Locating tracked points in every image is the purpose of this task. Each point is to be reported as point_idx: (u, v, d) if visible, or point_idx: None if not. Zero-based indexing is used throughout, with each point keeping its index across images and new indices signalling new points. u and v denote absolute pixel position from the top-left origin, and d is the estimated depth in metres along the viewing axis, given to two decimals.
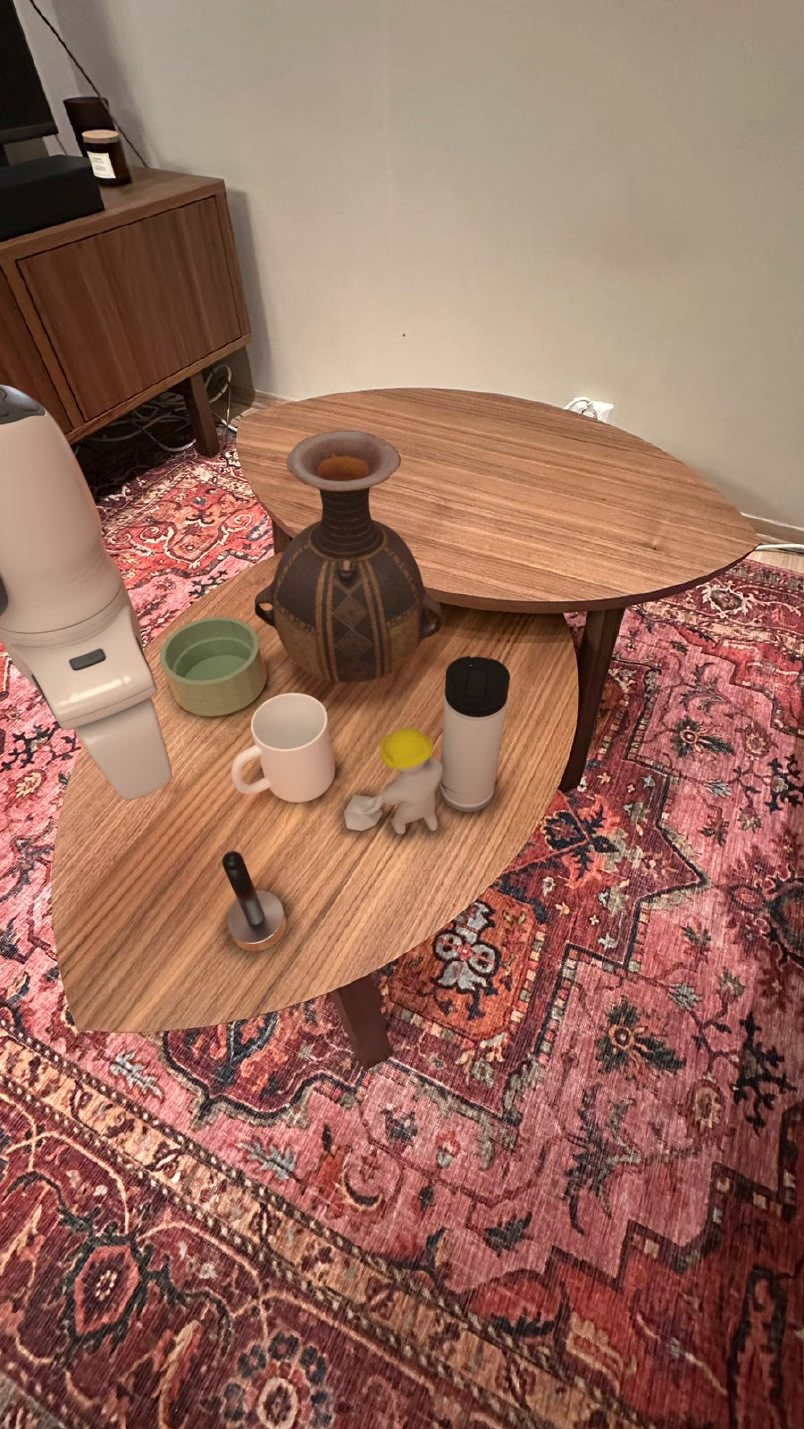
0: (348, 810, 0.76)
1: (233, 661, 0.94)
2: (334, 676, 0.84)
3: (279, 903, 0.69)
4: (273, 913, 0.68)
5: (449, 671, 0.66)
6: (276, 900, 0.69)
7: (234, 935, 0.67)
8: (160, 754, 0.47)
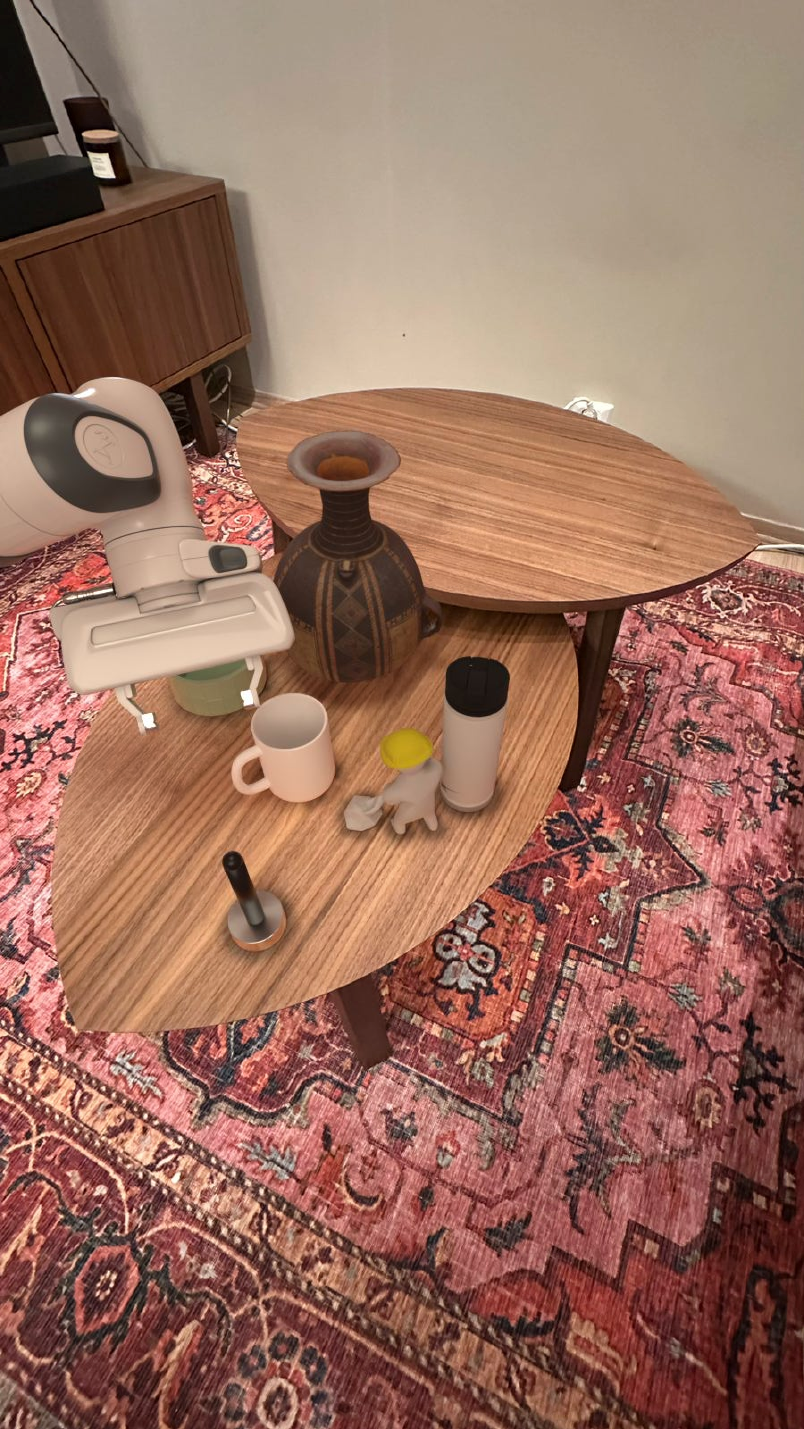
0: (348, 810, 0.76)
1: None
2: (334, 676, 0.84)
3: (279, 903, 0.69)
4: (273, 913, 0.68)
5: (449, 671, 0.66)
6: (276, 900, 0.69)
7: (234, 935, 0.67)
8: None
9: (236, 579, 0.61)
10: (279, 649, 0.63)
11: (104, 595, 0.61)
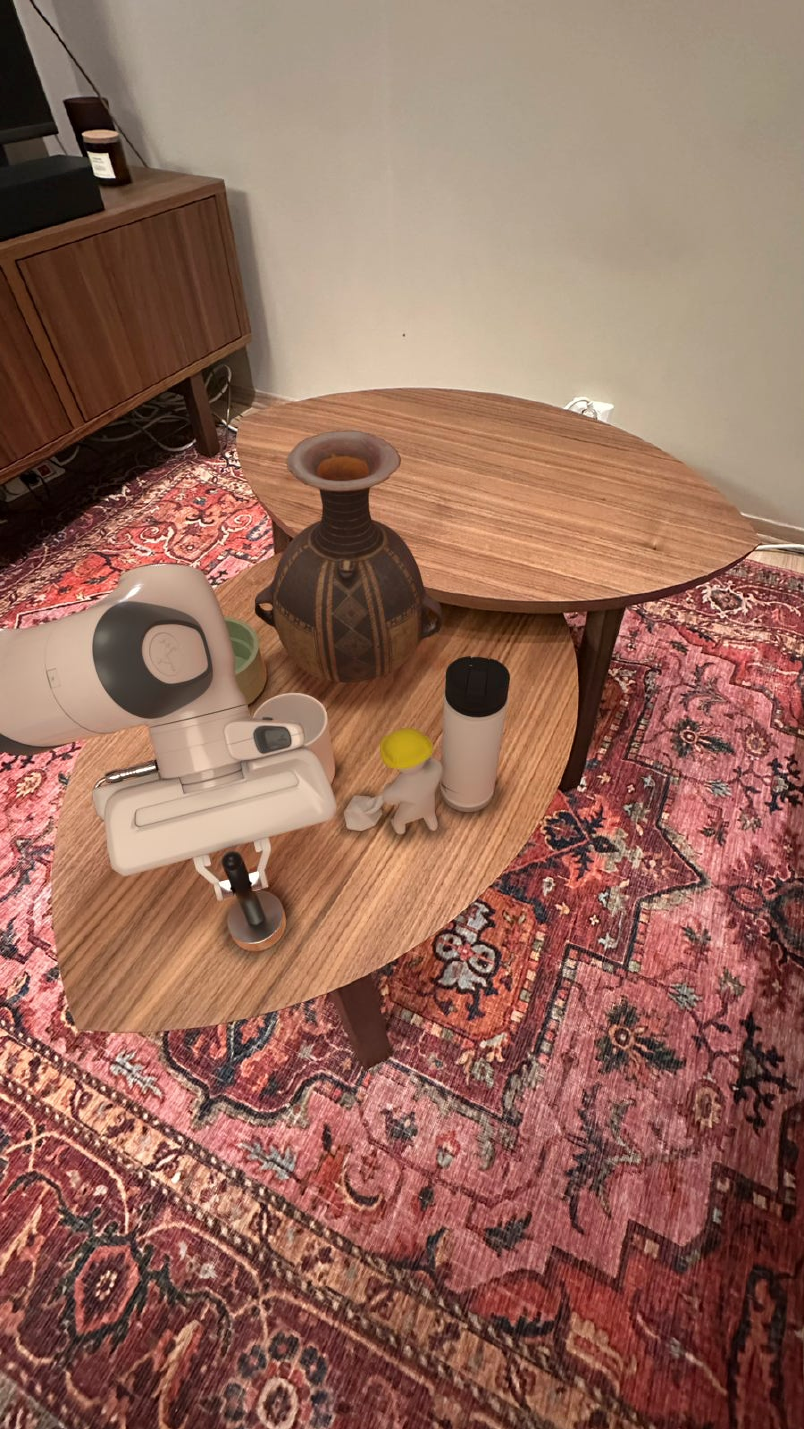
0: (348, 810, 0.76)
1: None
2: (334, 676, 0.84)
3: (279, 903, 0.69)
4: (273, 913, 0.68)
5: (449, 671, 0.66)
6: (276, 900, 0.69)
7: (234, 935, 0.67)
8: None
9: (280, 757, 0.60)
10: (322, 822, 0.62)
11: (147, 773, 0.60)
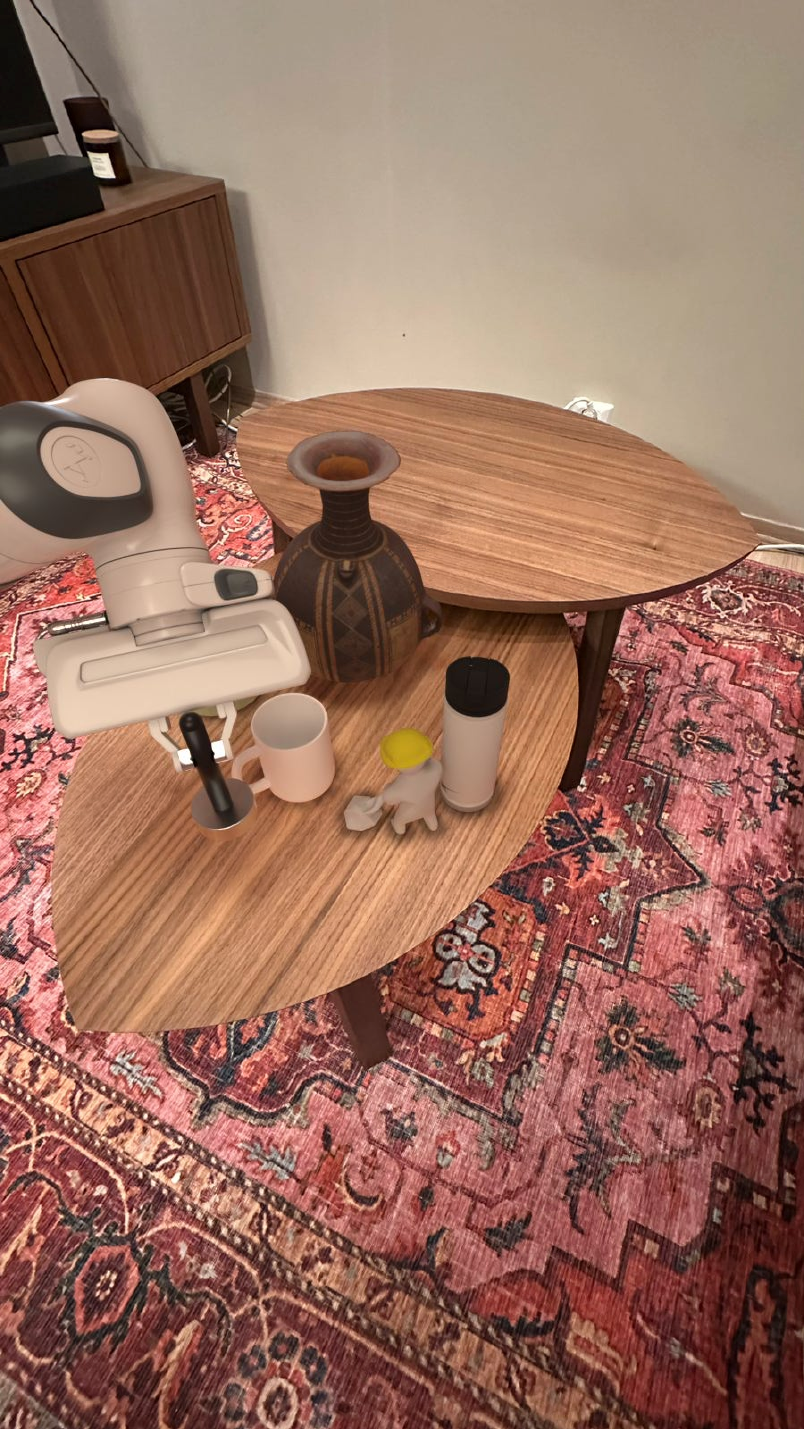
0: (348, 810, 0.76)
1: None
2: (334, 676, 0.84)
3: (249, 790, 0.62)
4: (242, 800, 0.61)
5: (449, 671, 0.66)
6: (246, 787, 0.62)
7: (198, 821, 0.60)
8: None
9: (245, 607, 0.53)
10: (293, 685, 0.56)
11: (95, 625, 0.53)
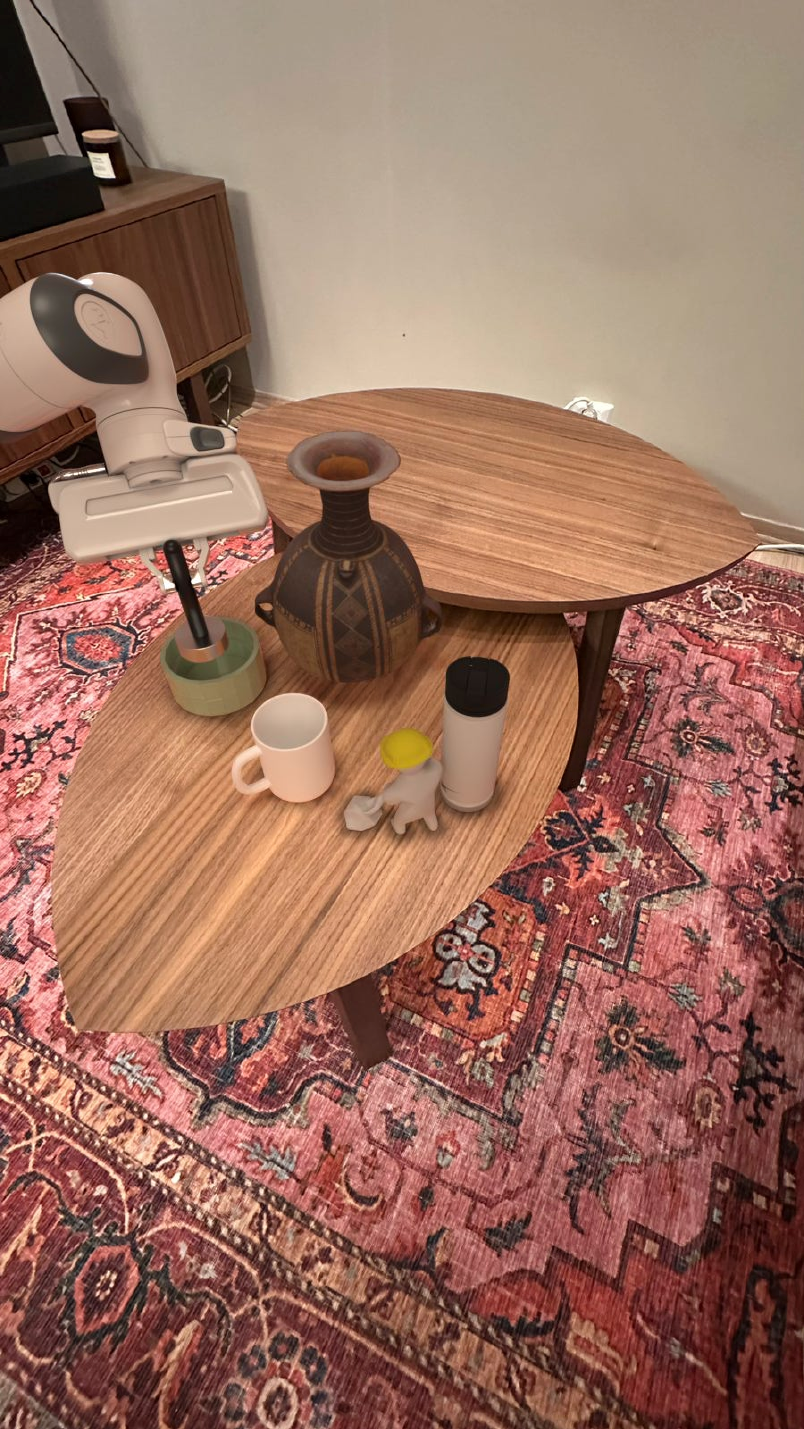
0: (348, 810, 0.76)
1: (233, 661, 0.94)
2: (334, 676, 0.84)
3: (222, 623, 0.77)
4: (216, 630, 0.76)
5: (449, 671, 0.66)
6: (219, 621, 0.77)
7: (180, 644, 0.74)
8: None
9: (215, 459, 0.68)
10: (254, 525, 0.70)
11: (97, 473, 0.68)
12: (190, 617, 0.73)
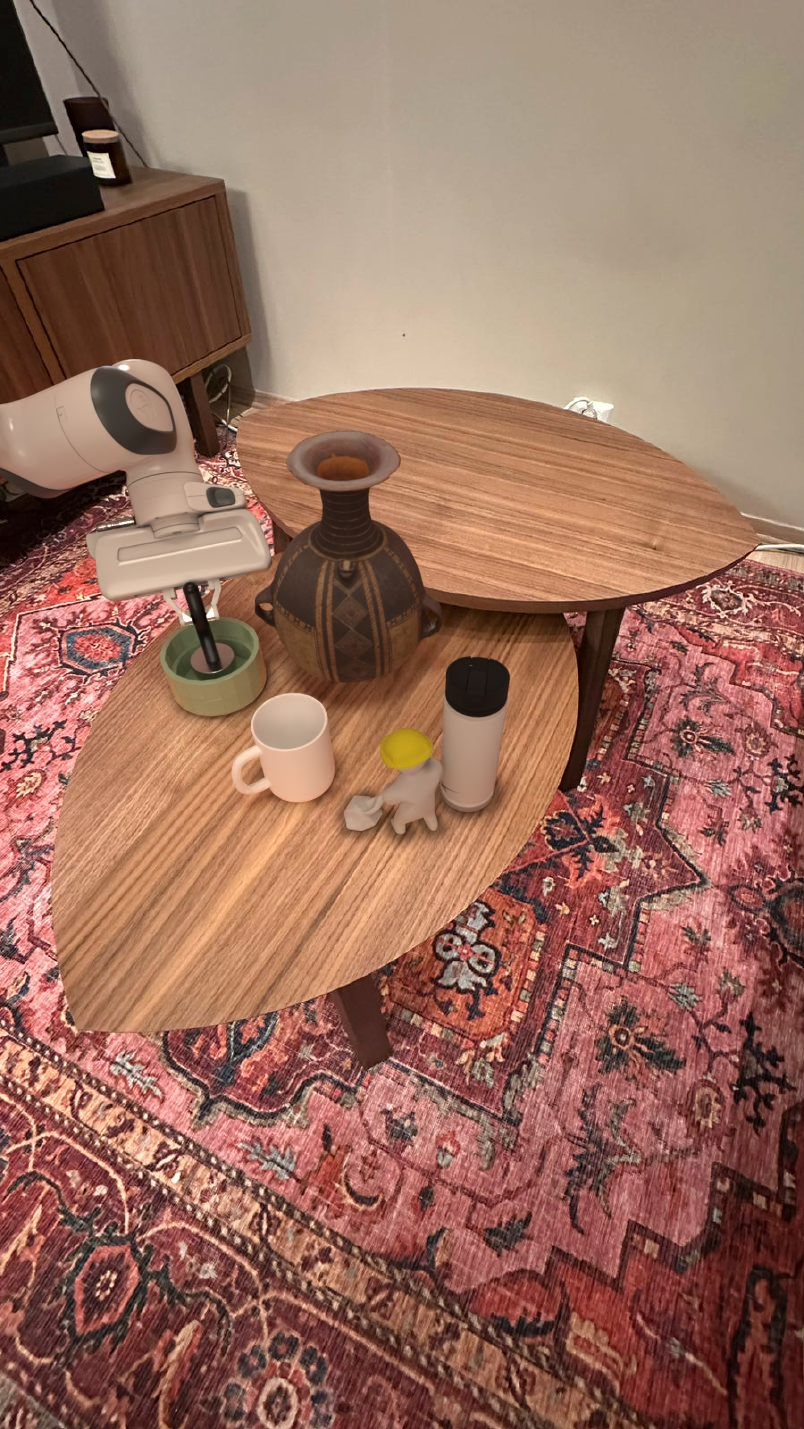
0: (348, 810, 0.76)
1: None
2: (334, 676, 0.84)
3: (231, 650, 0.89)
4: (226, 655, 0.88)
5: (449, 671, 0.66)
6: (229, 648, 0.89)
7: (195, 668, 0.87)
8: None
9: (227, 513, 0.80)
10: (260, 568, 0.82)
11: (127, 525, 0.80)
12: (204, 645, 0.85)
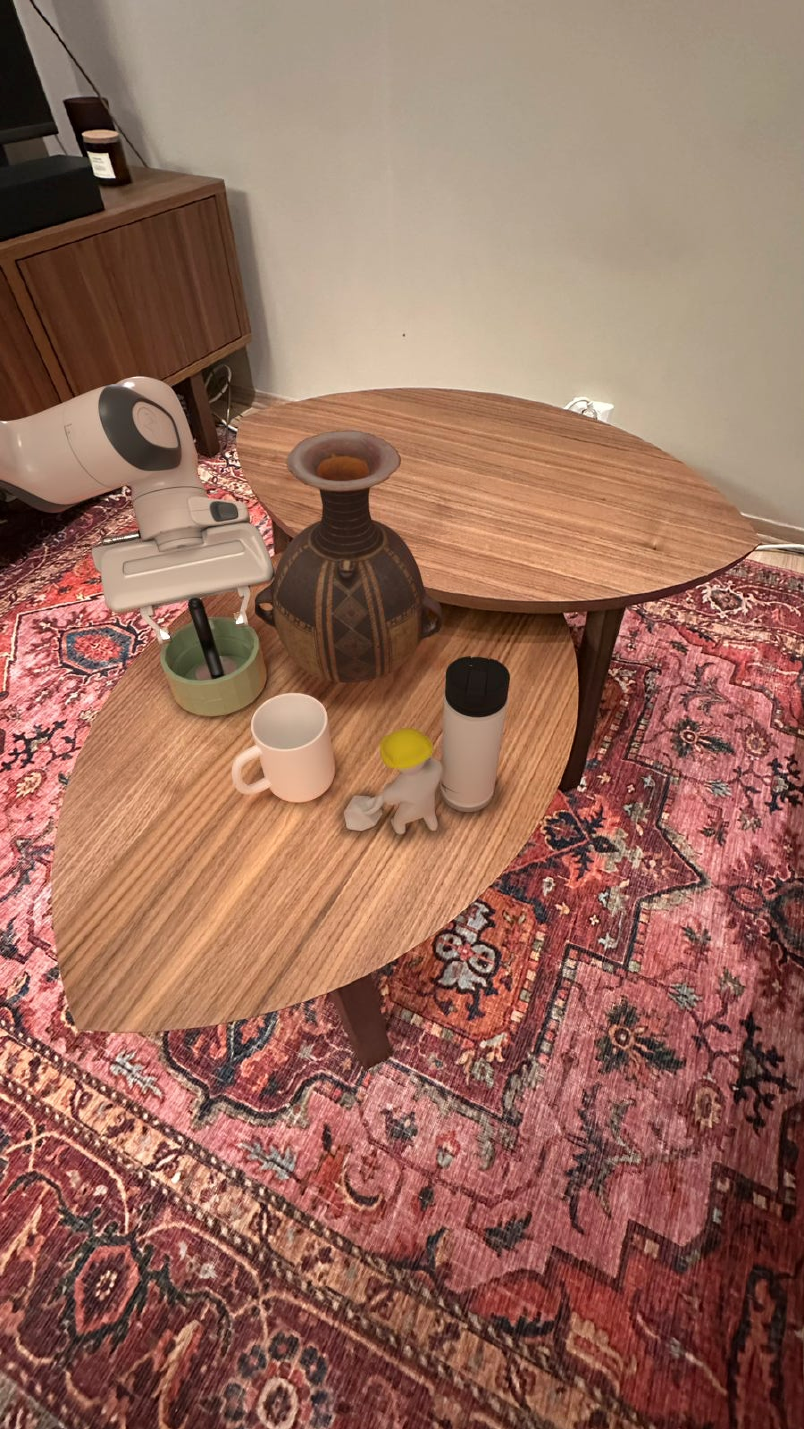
0: (348, 810, 0.76)
1: None
2: (334, 676, 0.84)
3: (234, 662, 0.91)
4: (230, 668, 0.90)
5: (449, 671, 0.66)
6: (232, 661, 0.91)
7: None
8: None
9: (230, 527, 0.82)
10: (262, 581, 0.84)
11: (132, 539, 0.82)
12: (208, 659, 0.87)
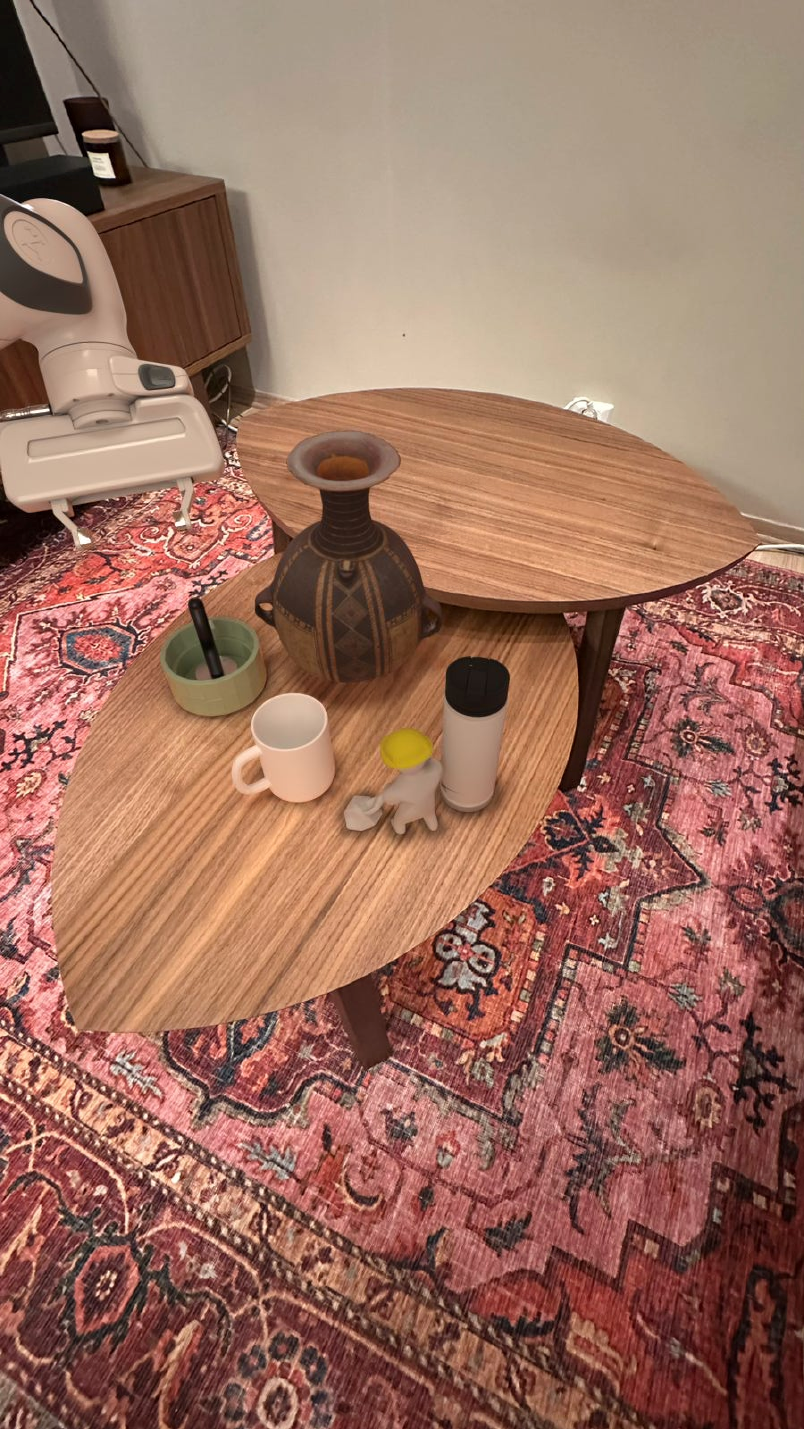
0: (348, 810, 0.76)
1: None
2: (334, 676, 0.84)
3: (234, 662, 0.91)
4: (230, 668, 0.90)
5: (449, 671, 0.66)
6: (232, 661, 0.91)
7: None
8: None
9: (165, 399, 0.64)
10: (208, 471, 0.66)
11: (41, 414, 0.64)
12: (208, 659, 0.87)
